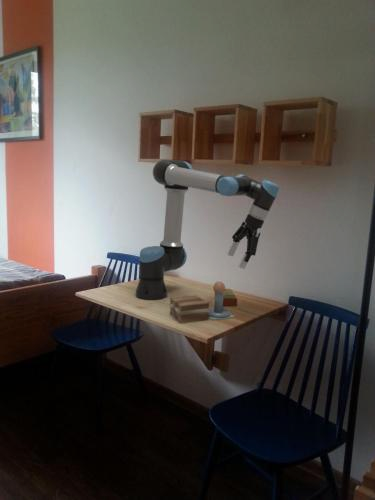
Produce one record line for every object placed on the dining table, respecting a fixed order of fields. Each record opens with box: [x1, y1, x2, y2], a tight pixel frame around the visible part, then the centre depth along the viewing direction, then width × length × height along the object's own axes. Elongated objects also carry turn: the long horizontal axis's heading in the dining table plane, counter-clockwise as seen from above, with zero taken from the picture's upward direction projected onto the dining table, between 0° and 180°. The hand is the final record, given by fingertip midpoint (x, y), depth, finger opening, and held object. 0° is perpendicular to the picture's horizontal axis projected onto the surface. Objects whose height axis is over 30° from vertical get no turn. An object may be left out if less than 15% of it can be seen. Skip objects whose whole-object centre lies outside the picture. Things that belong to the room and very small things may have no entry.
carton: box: [223, 288, 238, 307], centre depth 197 cm, size 8×16×4 cm, turn 4°
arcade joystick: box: [209, 281, 231, 318], centre depth 176 cm, size 10×10×14 cm
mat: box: [208, 313, 235, 321], centre depth 177 cm, size 10×10×1 cm
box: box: [169, 295, 210, 324], centre depth 173 cm, size 12×12×7 cm
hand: (235, 261), depth 182 cm, fingers open, 13 cm apart
